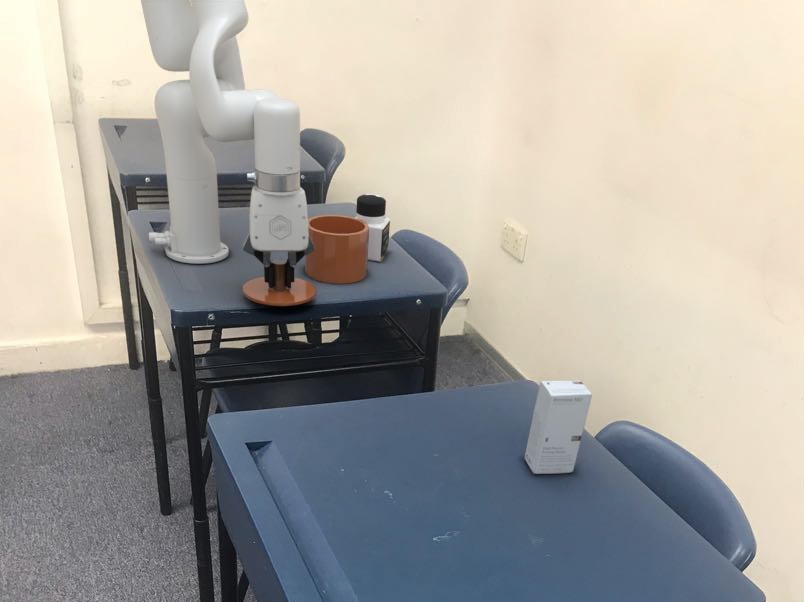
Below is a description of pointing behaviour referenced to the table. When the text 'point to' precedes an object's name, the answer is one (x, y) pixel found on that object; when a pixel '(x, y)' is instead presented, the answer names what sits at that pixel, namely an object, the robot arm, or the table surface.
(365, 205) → the medicine bottle
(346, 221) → the terracotta pot
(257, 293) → the lid
